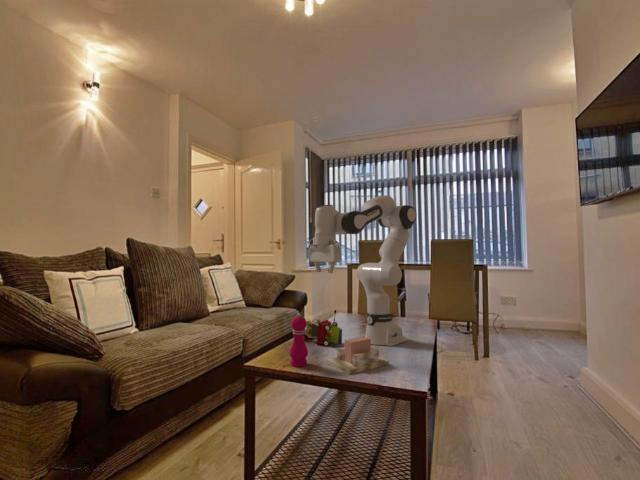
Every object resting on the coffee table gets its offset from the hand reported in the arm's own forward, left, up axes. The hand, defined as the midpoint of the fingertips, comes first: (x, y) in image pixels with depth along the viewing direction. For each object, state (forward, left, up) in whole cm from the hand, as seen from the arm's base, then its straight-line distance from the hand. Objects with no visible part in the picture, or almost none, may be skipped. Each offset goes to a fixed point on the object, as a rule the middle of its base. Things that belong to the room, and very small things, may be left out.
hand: (324, 272), depth 143 cm
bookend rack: (-4, +18, -35) cm, 40 cm away
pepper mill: (+16, +6, -35) cm, 39 cm away
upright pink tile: (-4, +18, -34) cm, 38 cm away
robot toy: (-9, -14, -35) cm, 39 cm away
